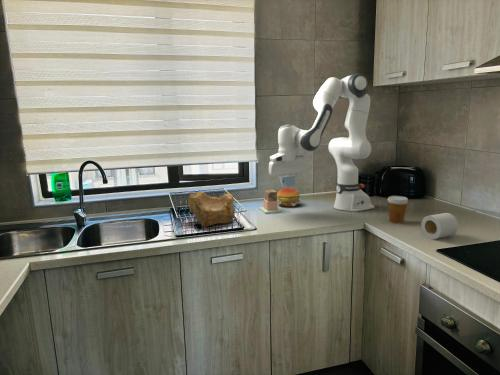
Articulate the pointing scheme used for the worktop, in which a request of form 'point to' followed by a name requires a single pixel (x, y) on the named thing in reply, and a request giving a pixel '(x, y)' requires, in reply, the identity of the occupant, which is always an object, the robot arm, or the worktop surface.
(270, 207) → the terracotta block
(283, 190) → the burger
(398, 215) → the disposable coffee cup
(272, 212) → the baseplate
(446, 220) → the toilet paper
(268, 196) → the walnut block
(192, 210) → the rough brown rock
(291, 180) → the slate blue block
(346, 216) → the worktop surface
